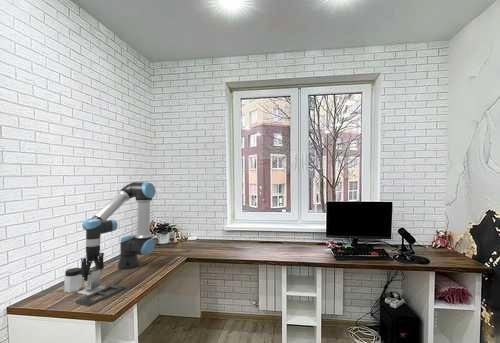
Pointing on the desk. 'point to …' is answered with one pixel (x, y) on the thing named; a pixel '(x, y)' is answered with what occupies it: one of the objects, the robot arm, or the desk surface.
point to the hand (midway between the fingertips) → (92, 283)
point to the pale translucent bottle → (93, 278)
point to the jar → (72, 280)
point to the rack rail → (89, 302)
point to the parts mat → (88, 291)
